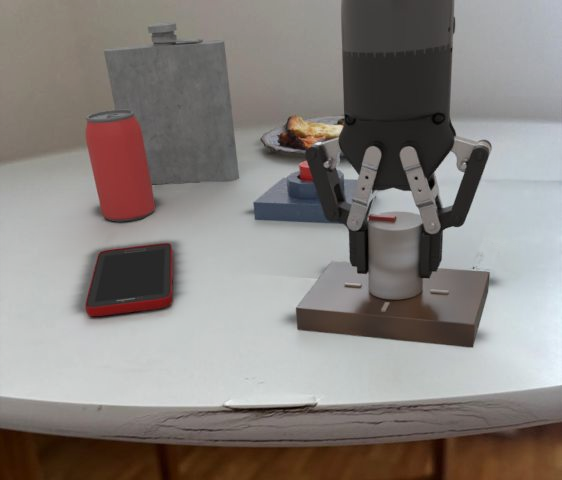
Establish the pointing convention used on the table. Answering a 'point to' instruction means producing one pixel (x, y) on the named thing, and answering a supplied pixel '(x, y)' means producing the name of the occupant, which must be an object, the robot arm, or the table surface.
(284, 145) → the food plate
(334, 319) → the panel
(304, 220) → the button block
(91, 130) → the beer can
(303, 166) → the red button
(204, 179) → the hip flask
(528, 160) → the table surface
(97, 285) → the cell phone
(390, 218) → the tap knob
